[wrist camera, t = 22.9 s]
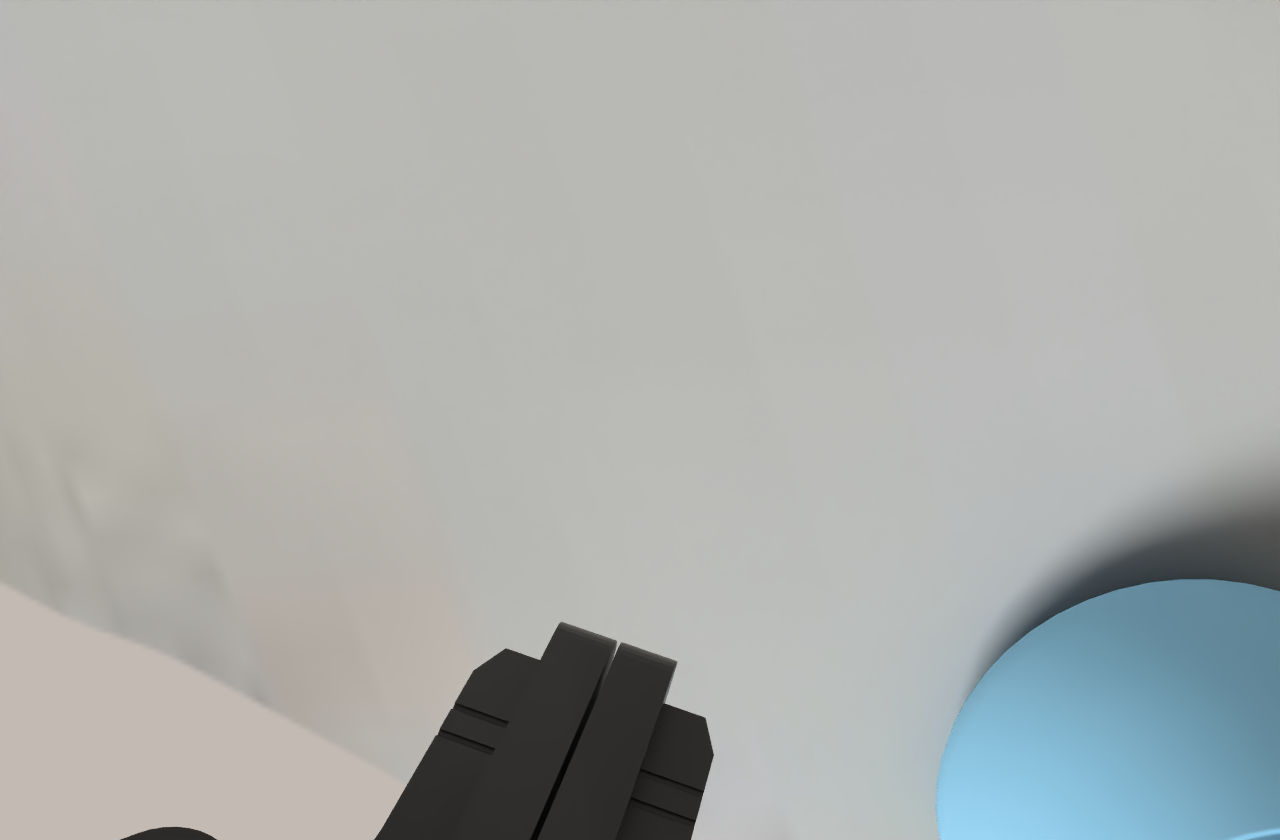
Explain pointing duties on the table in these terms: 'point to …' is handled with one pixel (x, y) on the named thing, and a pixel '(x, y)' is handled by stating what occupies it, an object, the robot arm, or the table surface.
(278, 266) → the table surface
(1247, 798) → the sugar bowl
